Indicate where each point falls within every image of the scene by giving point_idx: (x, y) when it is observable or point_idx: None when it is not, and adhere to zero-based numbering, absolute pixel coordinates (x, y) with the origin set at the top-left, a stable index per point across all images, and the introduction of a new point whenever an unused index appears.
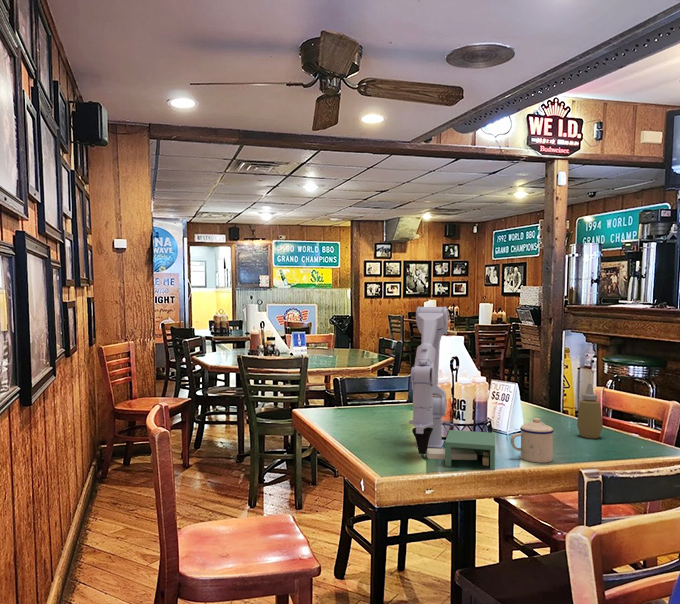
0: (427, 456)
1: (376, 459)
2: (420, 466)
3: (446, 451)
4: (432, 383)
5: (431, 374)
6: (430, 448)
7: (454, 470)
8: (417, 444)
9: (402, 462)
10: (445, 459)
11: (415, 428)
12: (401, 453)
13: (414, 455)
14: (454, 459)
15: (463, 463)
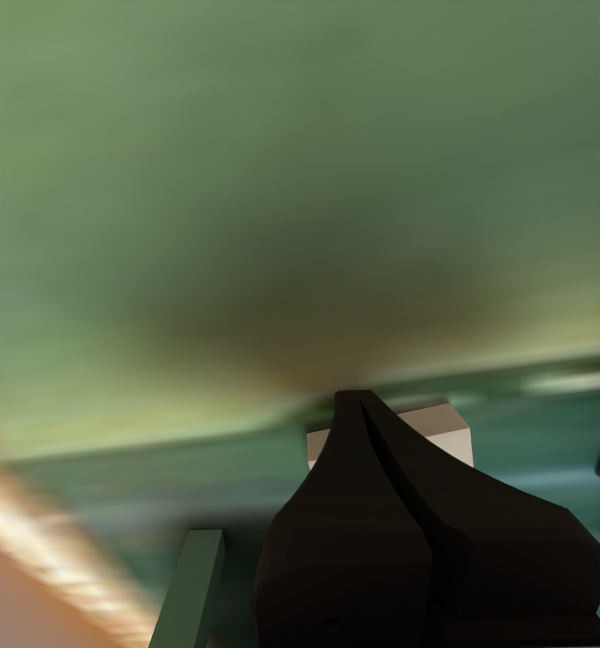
0: (321, 439)
1: (124, 17)
2: (109, 417)
3: (155, 641)
4: None
5: None
6: (469, 460)
7: (129, 570)
8: (329, 433)
9: (144, 288)
10: (175, 571)
11: (514, 564)
12: (417, 228)
13: (377, 340)
14: None
15: None
